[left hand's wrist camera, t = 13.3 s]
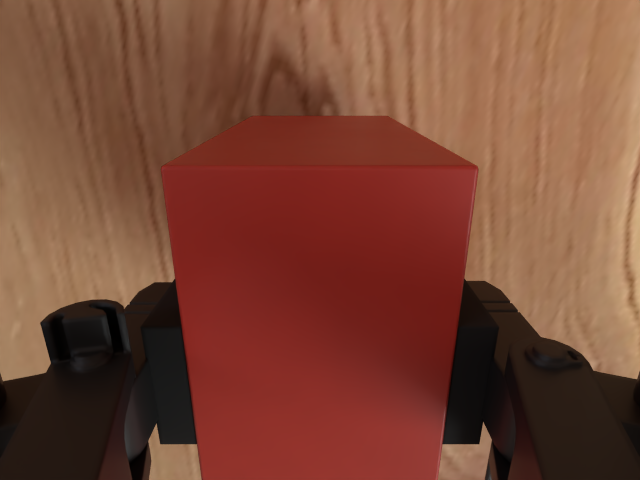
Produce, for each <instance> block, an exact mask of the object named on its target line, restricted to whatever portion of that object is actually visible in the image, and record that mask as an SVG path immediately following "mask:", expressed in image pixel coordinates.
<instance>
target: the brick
mask: <svg viewBox="0 0 640 480" xmlns="http://www.w3.org/2000/svg"><path fill="white" fill-rule="evenodd" d="M161 174H162V182H163V189H164V197H165V204H166V212H167V220H168V227H169V235H170V242H171V250H172V258H173V265H174V273H175V280H176V288H177V296H178V303H179V311H180V318H181V326H182V333H183V341H184V348H185V356H186V364H187V371H188V379H189V386H190V394H191V402H192V409H193V417H194V424H195V432H196V440H197V447H198V455H199V463H200V470H201V478H202V480H438V473H439V466H440V458H441V450H442V443H443V435H444V427H445V420H446V412H447V405H448V397H449V389H450V382H451V374H452V367H453V359H454V351H455V344H456V336H457V329H458V321H459V314H460V306H461V299H462V291H463V283H464V276H465V268H466V261H467V253H468V245H469V238H470V230H471V223H472V215H473V208H474V200H475V192H476V185H477V177H478V166H476V165H474V164H472V163H471V162H469V161H467V160H465V159H464V158H462V157H460V156H458V155H456V154H455V153H453V152H451V151H449V150H447V149H446V148H444V147H442V146H440V145H438V144H437V143H435V142H433V141H431V140H430V139H428V138H426V137H424V136H422V135H421V134H419V133H417V132H415V131H413V130H412V129H410V128H408V127H406V126H404V125H403V124H401V123H399V122H397V121H396V120H394V119H392V118H390V117H388V116H251V117H250V118H248V119H246V120H244V121H242V122H241V123H239V124H237V125H235V126H233V127H232V128H230V129H228V130H226V131H224V132H223V133H221V134H219V135H217V136H215V137H214V138H212V139H210V140H208V141H206V142H205V143H203V144H201V145H199V146H197V147H196V148H194V149H192V150H190V151H188V152H187V153H185V154H183V155H181V156H179V157H178V158H176V159H174V160H172V161H170V162H169V163H167V164H165V165H163V166H162V168H161Z"/></svg>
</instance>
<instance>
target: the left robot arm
mask: <svg viewBox="0 0 640 480" xmlns="http://www.w3.org/2000/svg"><path fill="white" fill-rule="evenodd" d="M41 327H42V331H43V335H44V338H45V342H46V346H47V350H48V353H49V357H50V361H51V364H50V366H49V368H48V370H47V372H46V373H43V374H39V375H34V376H29V377H24V378H19V379H13V380H8V381H3V380H2V377H1V374H0V480H149V474H150V466H151V455H150V448H149V443H148V440H149V438H150V436H151V434H152V431H153V429H154V427H155V425H156V423H157V428H158V434H159V439H160V444H197V440H196V432H195V424H194V417H193V409H192V402H191V394H190V386H189V379H188V371H187V364H186V356H185V348H184V341H183V333H182V326H181V318H180V311H179V303H178V296H177V288H176V280H174V281H173V282H155V283H153V284H151V285H150V286H148V287H146V288H145V289H143V290H141V291H139V292H138V293H137V295H136V296H135V297H134V298H133V299H132V301H131V302H130V305H127V306H126V308H125V309H124V307H123V306H122V305H121V304H119V303H118V302H116V301H111V300H89V301H83V302H78V303H74V304H71V305H68V306H65V307H63V308H60V309H58V310H57V311H55V312H53V313H51V314H49V315H48V316H47V317H46V318H45V319H44V320H43V321H42V322H41ZM483 422H484V424H485V426H486V428H487V430H488V432H489V434H490V436H491V439H492V443H491V448H490V454H489V459H488V465H487V470H486V476H485V480H640V372H639V375H638V378H637V379H632V378H627V377H621V376H616V375H611V374H606V373H601V372H597V371H593V369H592V367H591V366H590V364H589V362H588V361H587V360H586V359H585V358H584V356H583V355H582V354H581V353H579V352H578V351H576V350H575V349H573V348H571V347H570V346H568V345H565V344H563V343H560V342H558V341H555V340H551V339H547V338H542V337H540V336H539V334H538V333H537V332H536V331H535V330H534V329H533V327H532V326H531V325H530V324H529V323H528V322H527V320H526V319H525V318H524V317H523V316H522V315H521V313H520V312H518V310H517V309H516V307H515V306H514V305H513V304H512V303H510V300H509V299H508V298H507V297H506V296H505V295H504V293H503V292H502V291H501V290H500V289H498V288H496V287H494V286H493V285H491V284H489V283H488V282H486V281H466V280H465V279H464V283H463V291H462V299H461V306H460V314H459V321H458V329H457V336H456V344H455V351H454V359H453V367H452V374H451V382H450V389H449V397H448V405H447V412H446V420H445V427H444V435H443V443H442V444H479V442H480V437H481V431H482V425H483Z"/></svg>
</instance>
